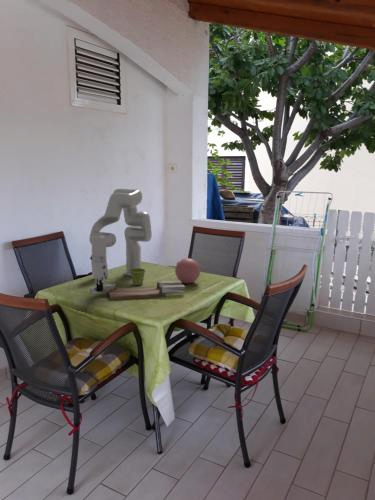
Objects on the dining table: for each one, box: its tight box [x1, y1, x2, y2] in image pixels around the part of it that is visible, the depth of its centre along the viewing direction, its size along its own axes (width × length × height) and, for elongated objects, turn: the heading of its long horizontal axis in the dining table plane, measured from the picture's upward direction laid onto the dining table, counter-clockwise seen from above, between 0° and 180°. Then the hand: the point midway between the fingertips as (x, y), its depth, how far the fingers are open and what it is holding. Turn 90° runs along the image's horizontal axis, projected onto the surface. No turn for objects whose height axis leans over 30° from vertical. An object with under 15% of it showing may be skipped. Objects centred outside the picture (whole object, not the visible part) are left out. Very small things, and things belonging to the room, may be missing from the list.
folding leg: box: [89, 283, 117, 295], centre depth 224 cm, size 15×3×3 cm, turn 127°
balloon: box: [174, 257, 201, 284], centre depth 251 cm, size 15×20×15 cm
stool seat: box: [108, 280, 186, 301], centre depth 228 cm, size 14×42×5 cm, turn 104°
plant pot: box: [130, 267, 146, 286], centre depth 245 cm, size 9×9×9 cm
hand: (99, 291), depth 219 cm, fingers closed
